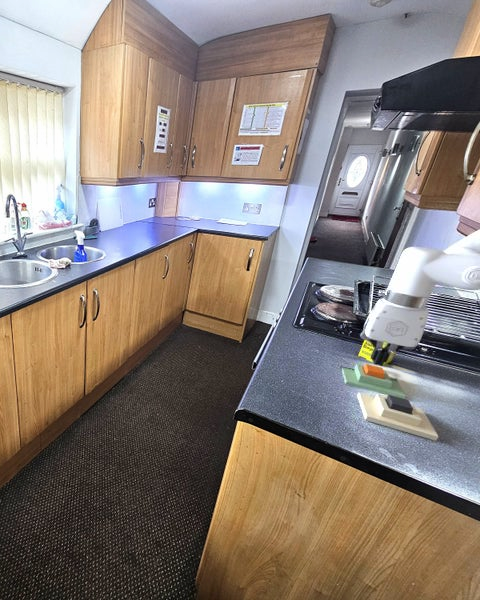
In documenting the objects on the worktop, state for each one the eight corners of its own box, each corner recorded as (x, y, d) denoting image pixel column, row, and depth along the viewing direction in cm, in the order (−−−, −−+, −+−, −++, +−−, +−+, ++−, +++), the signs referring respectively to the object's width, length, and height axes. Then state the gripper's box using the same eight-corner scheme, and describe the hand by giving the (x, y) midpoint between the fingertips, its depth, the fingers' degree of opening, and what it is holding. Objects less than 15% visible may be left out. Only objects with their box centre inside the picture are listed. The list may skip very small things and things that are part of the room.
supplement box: (356, 360, 99) (368, 328, 94) (366, 354, 101) (379, 323, 97) (379, 370, 94) (394, 337, 89) (390, 364, 96) (404, 332, 92)
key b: (379, 373, 88) (382, 367, 87) (383, 379, 85) (385, 374, 84) (363, 369, 90) (365, 363, 89) (365, 375, 87) (368, 370, 86)
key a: (405, 405, 76) (408, 399, 75) (410, 415, 73) (413, 409, 72) (385, 400, 77) (388, 394, 77) (389, 409, 75) (392, 403, 74)
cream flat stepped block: (420, 412, 77) (425, 402, 76) (436, 441, 69) (442, 430, 68) (357, 395, 83) (361, 386, 82) (365, 420, 75) (369, 409, 74)
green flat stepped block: (393, 379, 90) (397, 370, 88) (404, 400, 82) (409, 390, 80) (339, 366, 95) (342, 358, 94) (344, 384, 87) (348, 375, 86)
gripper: (369, 297, 79) (344, 361, 86) (454, 311, 73) (419, 379, 80) (363, 288, 85) (340, 348, 92) (441, 300, 79) (409, 364, 86)
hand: (376, 362), depth 86 cm, fingers closed
